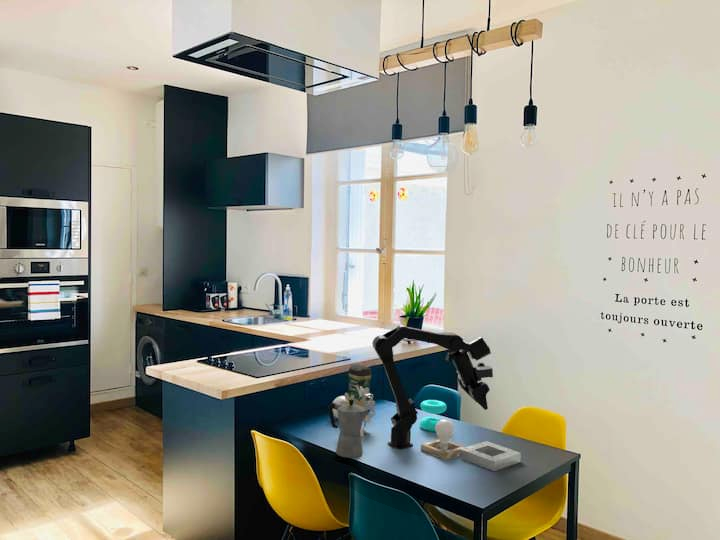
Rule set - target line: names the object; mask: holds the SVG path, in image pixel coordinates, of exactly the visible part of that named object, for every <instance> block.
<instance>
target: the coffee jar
mask: <svg viewBox="0 0 720 540" xmlns="http://www.w3.org/2000/svg"><path fill="white" fill-rule="evenodd" d="M371 379H372V369H371V367H368V366H365V365H362V364H350V366H349V368H348V392H347V393H348V395H349V397H351V395H354V398H355V399H357V400H358V398H359V396H360V395H359V392H358V390H357V388H356V386H358V388H359V390H360V386H362V387H363V389H364V392H368V393H370V394H371V390H370V389H371V387H370V386H371ZM355 385H356V386H355ZM364 392H363V393H364ZM367 396H370V397H371V395H367ZM361 398H362V397H360V399H359V401H360V400H361ZM370 399H371V398H368V397H366V401H365V403H364V404H365V405H367V404H368V402H369V401H370Z"/></svg>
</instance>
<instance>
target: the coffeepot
mask: <svg viewBox="0 0 720 540" xmlns="http://www.w3.org/2000/svg"><path fill="white" fill-rule="evenodd" d="M353 401H354V400H352V399H350V400H349V405H341V404H335V403H333V402H331V403H330V405H329V406H328V407H327V411H328V416H329V420H330V424H331V427H332V428H334V429H338V428H339V429H340V430H339V431H340V432H339V434H338V439H337V440H338V441H337V444H336V449H335V450H336V451H335V454H336V455H337V456H339V457H341V458H349V459H350V458H351V459H352V458H358V457H361V456H362V455H363V452H364V451H363V442H362V436H361V434H360V429H361V428H362V425H363V423H364V421H363V420H364V418H365V417H366V416H367V415H370V412H369V410H364V409H365V408H364V407H361V406H358V405H353ZM333 409H336V410H337V411H338V418H337V419H338V425H337V424H336V423H335V422H336V420H335V416H334V415H333Z"/></svg>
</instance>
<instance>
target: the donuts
mask: <svg viewBox="0 0 720 540" xmlns="http://www.w3.org/2000/svg"><path fill="white" fill-rule="evenodd" d="M420 409H421V410H422V411H423V412H425V413H428V414H432V415H434V414H435V415H438V414H443V413H444V412H445V411H447V404H446V403H445V402H444V401H442V400H437V399H427V400H423V401H422V402H421V403H420ZM440 420H443V419H442V418H439V417H435V416H426V417H423V418H421V420H420V421H419V426H420V428H421V429H423V430H424V431H427V430H428V431H429V432H436V431H435V427H436V424H437V422H438V421H440Z"/></svg>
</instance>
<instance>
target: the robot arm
mask: <svg viewBox="0 0 720 540" xmlns="http://www.w3.org/2000/svg"><path fill="white" fill-rule="evenodd" d="M404 339H410V340H415V341H419V342H424V343H428V344H434V345H437V346H439V347H442V348H444V349H445V350H448V351H451V352H447V354H446V356H445V360H446V361H448V362H451V361H452V362H453V365H454V366H455V369H456V373H457V375H458V376H459V377H457V380H456V382H457V383H458V386H459V387H460V388H461V389H462V390H463V391H464V392H465V393H466V394H467V395H468V396H469V397H470V398H471V399H472V400H474V402H476V403H477V404H479V406H480V407H481V408H482V409H483V410H485V411H487V410H488V409H489V407H488V401H487V395H488V393H489V392H490V391H491V389H490V387H489V385H488V384H487V383H486V382H484V381H482V380H483V379H485V378H493V377H494V374H493V373H494V372H493V371H494V370H493V367H492V366H489V365H485V363H483V362H478V361H479V360H481V359H483V358H485V357H487V356H488V355H491V354H492V352H491V348H490V346H489V345H488V344H487V342H486V341H485V340H484V338H483V337H482V336H479V337H477V338H475V339H474V340H472V341H469V342H467V341H464V340H463V338H462V337H461V336H460V335H458V334H456V333H454V332H446V331H445V332H434V331H429V330H425V329H420V328H414V327H409V326H406V325H402V324H400V325H398V326H397V327H395V328H393V329H391V330H389V331H387V332H386V333H384V334H382V335H377V336H375V337H374V339H373V341H372V347H373V350H374V351H375V353H376V354H377V356H378V358H379V359H380V361H381V363H382V365H383V367H384V368H383V369H384V371H385V374H386V376H387V378H388V381H389V382H388V383H389V385H390V387H391V388H390V389H391V390H392V393H393V396H394V398H395V408H396V413H395V414H393V416H392V417H391V418H390V421H391V424H392V425H393V426H392V427H390V428H391V430H390V432H391V433H390V441H388V442H387V444H388V446H389V445H390V446H391V447H394V448H396V449H399V450H402V449H405V448H410V447H412V446H413V445H414V444H413V443H411V438H412V437H411V433H412V431H411V429H412V427H413V425H415V423H416V422H417V420H418V414H419V412H418V411H417V409H416V405H415V402H414V401H413V400H412V398H408V397H407V394H406V392H405V390H404V386H403V384H402V381H401V378H400V376H399V373H398V370H397V367H396V364H395V361H394V351H393V349H394V347H396V346H397V345H398V344H399V343H401V341H402V340H404ZM472 360H475V361H476V362H478V363H477V365H476V366H474V365H473V363H472Z"/></svg>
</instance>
